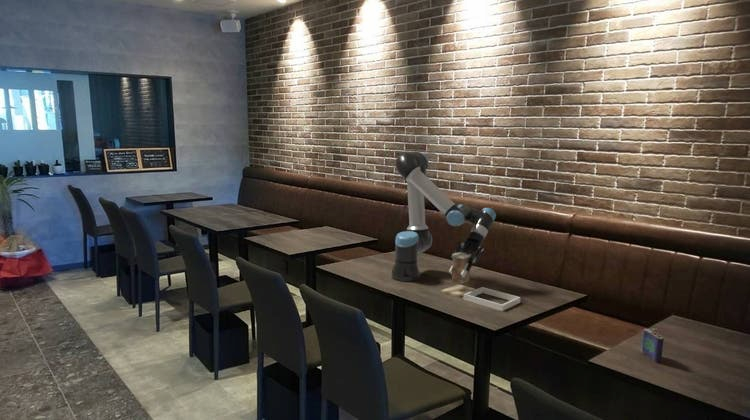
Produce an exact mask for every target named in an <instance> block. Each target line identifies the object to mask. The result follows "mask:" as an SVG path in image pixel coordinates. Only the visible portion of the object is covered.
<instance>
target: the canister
mask: <svg viewBox="0 0 750 420" xmlns="http://www.w3.org/2000/svg"><path fill="white" fill-rule="evenodd" d="M451 256H452V257H453V260H452V262H453V263H452V262H451V264H452V274H451V281H452V282H455V283H458V284H459V283H460V284H464V283H467V282H469V281H470V276H471V275H470V273H471V269H470V270H469V271H467V273H466V275H465V277H462V275H461V273H462V271H463V269H464V267H465V265H466V263H468V262H469V258H470V257H471V254H470V253H468V252H467V253H462V252H458V253H455V254H453V253H452V254H451ZM468 264H469V263H468Z"/></svg>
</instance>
